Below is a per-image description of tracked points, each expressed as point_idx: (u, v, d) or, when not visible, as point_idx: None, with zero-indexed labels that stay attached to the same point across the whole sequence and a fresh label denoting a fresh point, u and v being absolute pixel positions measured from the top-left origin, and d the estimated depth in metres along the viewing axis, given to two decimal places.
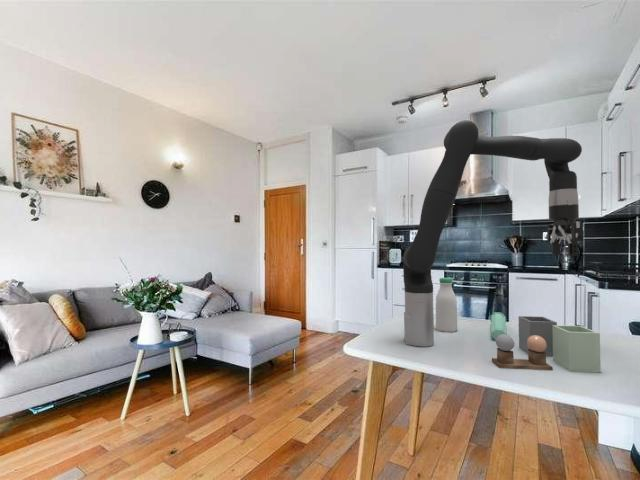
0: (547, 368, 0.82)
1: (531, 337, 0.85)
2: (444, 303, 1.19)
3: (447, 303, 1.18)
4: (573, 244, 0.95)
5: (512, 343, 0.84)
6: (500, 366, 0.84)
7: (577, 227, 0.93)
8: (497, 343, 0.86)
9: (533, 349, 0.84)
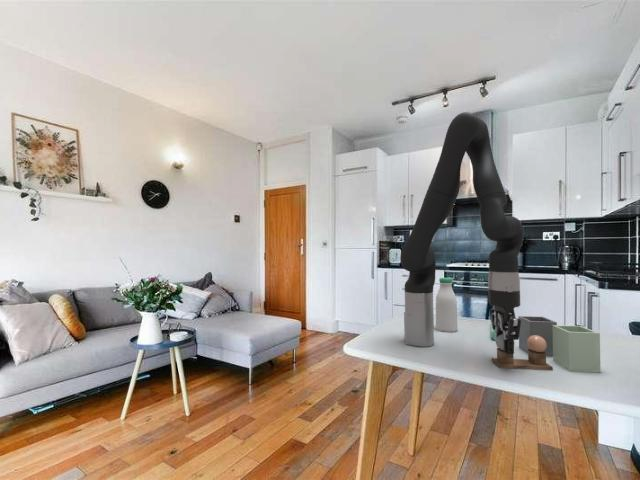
0: (547, 368, 0.82)
1: (531, 337, 0.85)
2: (444, 303, 1.19)
3: (447, 303, 1.18)
4: (508, 341, 0.83)
5: None
6: (500, 366, 0.84)
7: (514, 326, 0.80)
8: (497, 343, 0.86)
9: (533, 349, 0.84)
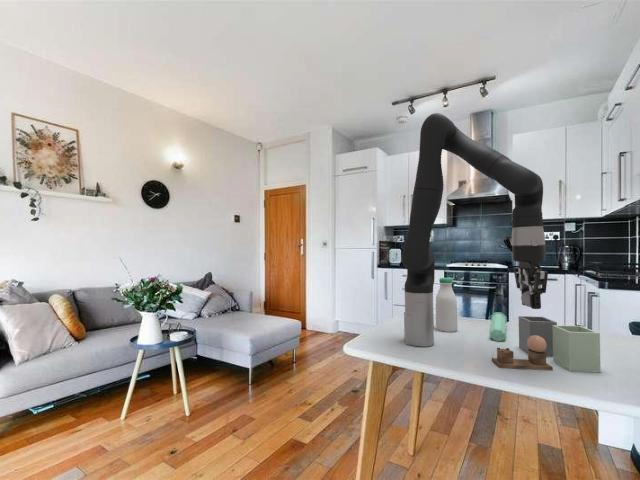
0: (547, 368, 0.82)
1: (531, 337, 0.85)
2: (444, 303, 1.19)
3: (447, 303, 1.18)
4: (535, 295, 0.82)
5: None
6: (500, 366, 0.84)
7: (541, 278, 0.79)
8: (523, 299, 0.85)
9: (533, 349, 0.84)
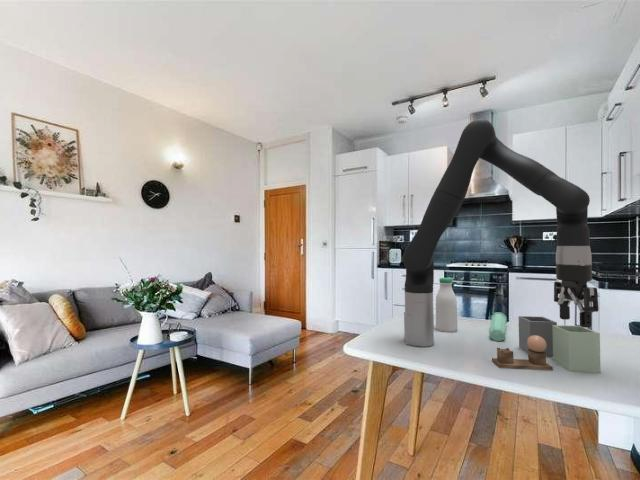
0: (547, 368, 0.82)
1: (531, 337, 0.85)
2: (444, 303, 1.19)
3: (447, 303, 1.18)
4: (586, 314, 0.79)
5: None
6: (500, 366, 0.84)
7: (591, 295, 0.78)
8: None
9: (533, 349, 0.84)
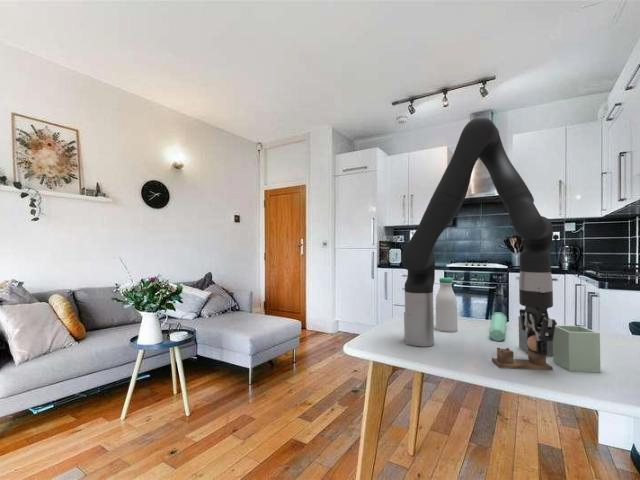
0: (547, 368, 0.82)
1: (531, 337, 0.85)
2: (444, 303, 1.19)
3: (447, 303, 1.18)
4: (542, 342, 0.81)
5: None
6: (500, 366, 0.84)
7: (548, 326, 0.79)
8: None
9: (533, 349, 0.84)
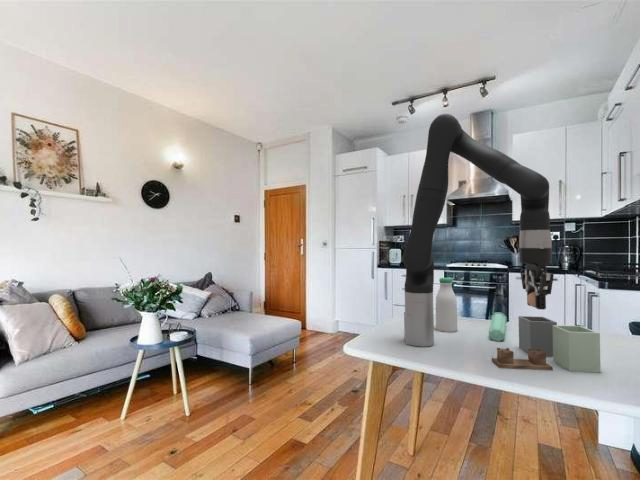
0: (547, 368, 0.82)
1: (531, 293, 0.88)
2: (444, 303, 1.19)
3: (447, 303, 1.18)
4: (540, 296, 0.85)
5: None
6: (500, 366, 0.84)
7: (547, 280, 0.82)
8: None
9: (532, 304, 0.87)
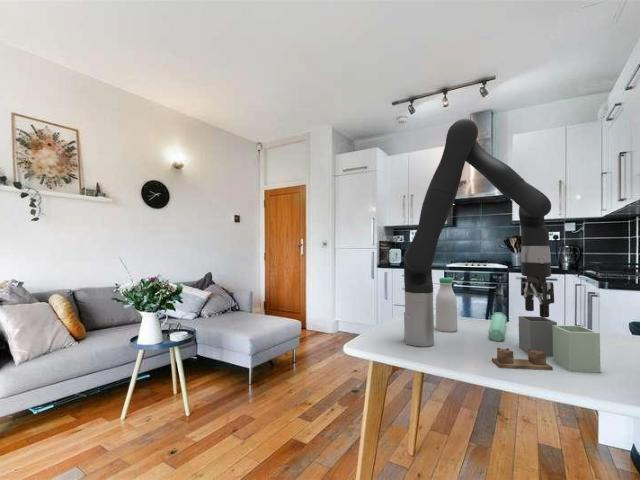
0: (547, 368, 0.82)
1: None
2: (444, 303, 1.19)
3: (447, 303, 1.18)
4: (544, 305, 0.91)
5: None
6: (500, 366, 0.84)
7: (548, 288, 0.89)
8: None
9: None
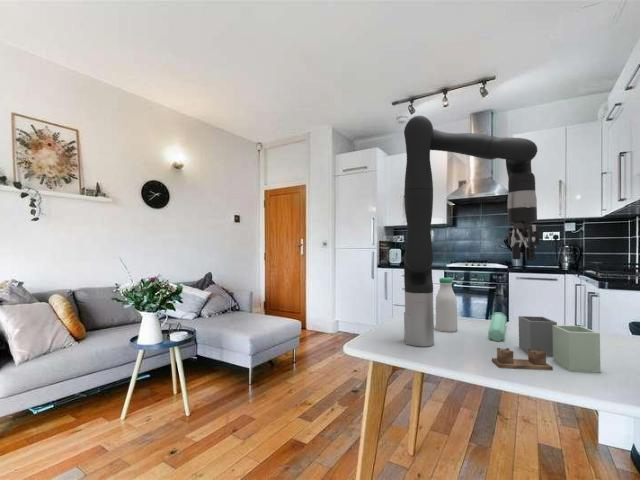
0: (547, 368, 0.82)
1: None
2: (444, 303, 1.19)
3: (447, 303, 1.18)
4: (530, 248, 0.91)
5: None
6: (500, 366, 0.84)
7: (533, 231, 0.89)
8: None
9: None
